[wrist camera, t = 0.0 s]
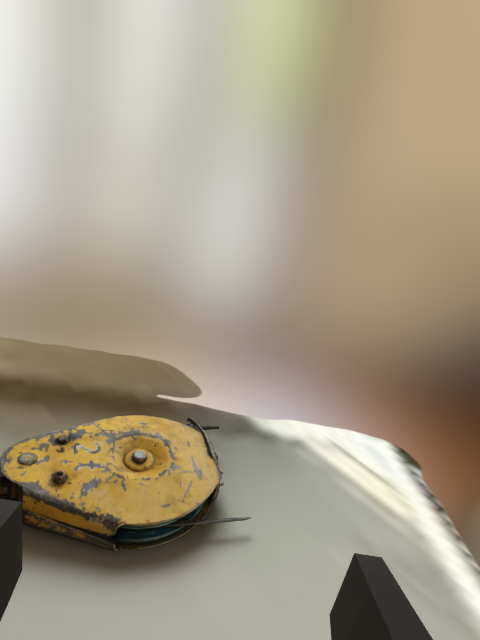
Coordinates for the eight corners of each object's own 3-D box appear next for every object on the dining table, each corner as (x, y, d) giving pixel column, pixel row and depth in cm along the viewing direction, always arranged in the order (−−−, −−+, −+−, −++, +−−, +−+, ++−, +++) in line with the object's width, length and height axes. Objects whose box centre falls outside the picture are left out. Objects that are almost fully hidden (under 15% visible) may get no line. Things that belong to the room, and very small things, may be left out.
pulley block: (-108, 395, 39) (222, 398, 50) (-102, 445, 41) (211, 438, 52) (-190, 543, 27) (264, 505, 38) (-174, 600, 30) (247, 550, 41)
